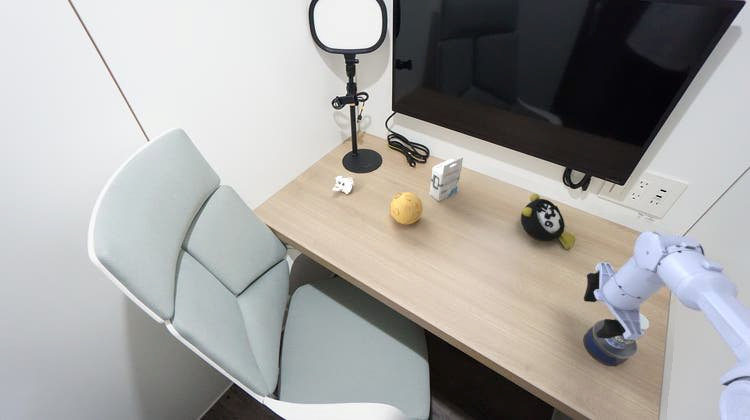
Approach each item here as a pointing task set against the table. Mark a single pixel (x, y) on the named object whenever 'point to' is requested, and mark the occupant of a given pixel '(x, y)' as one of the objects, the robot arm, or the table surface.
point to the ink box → (445, 179)
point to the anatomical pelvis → (347, 184)
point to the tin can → (606, 348)
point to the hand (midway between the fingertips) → (595, 317)
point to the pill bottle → (622, 342)
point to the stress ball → (406, 208)
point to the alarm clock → (545, 222)
